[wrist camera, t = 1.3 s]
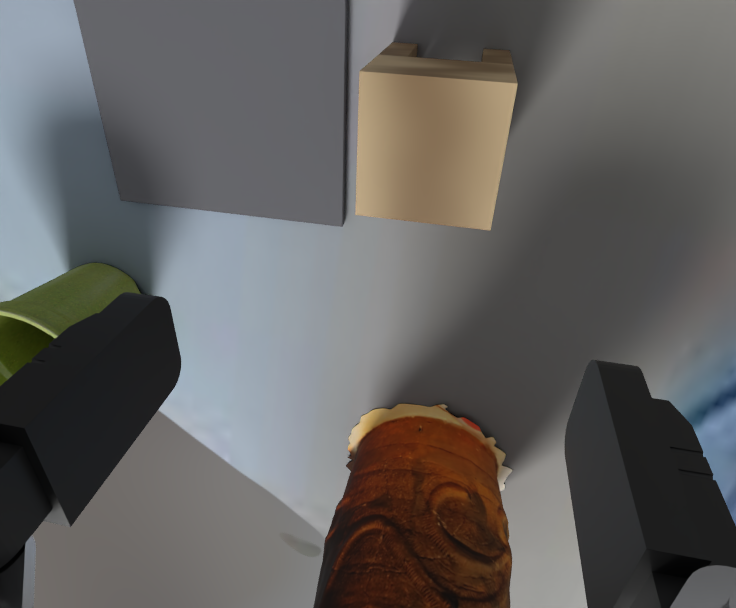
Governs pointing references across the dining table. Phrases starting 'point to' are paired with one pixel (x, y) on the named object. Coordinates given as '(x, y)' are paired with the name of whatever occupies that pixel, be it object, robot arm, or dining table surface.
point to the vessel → (419, 516)
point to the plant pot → (55, 311)
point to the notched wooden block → (433, 136)
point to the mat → (223, 103)
